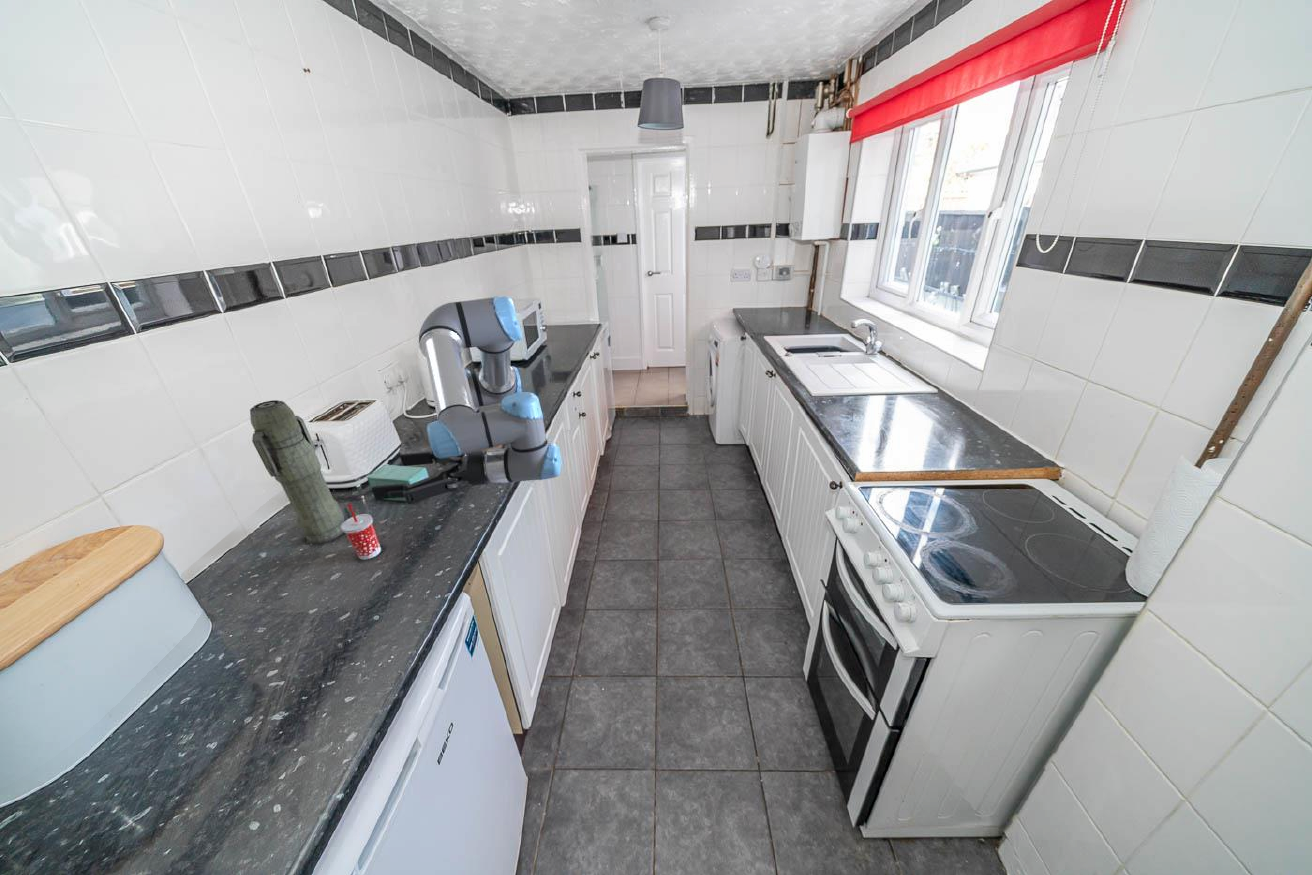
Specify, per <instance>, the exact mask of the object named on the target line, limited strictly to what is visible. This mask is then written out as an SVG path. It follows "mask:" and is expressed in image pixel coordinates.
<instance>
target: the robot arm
mask: <svg viewBox="0 0 1312 875" xmlns="http://www.w3.org/2000/svg"><path fill="white" fill-rule="evenodd" d="M515 308H516V307H515V305H514V301H513V299H512V298H511V297H509V296H493V297H485V298H478V299H470V300H462V301H461V300H460V301H452V302H447V303H444V304H442V305H440V306H438V307H436V308H435V309H433V311H431V312H430V313H429V314H428V315H427V317H426V318H425V320H424V321H423V323H422V324H421V327H420V329H419V333H418V346H419V349H420V352H421V354H422V355H423V357H425V358H426V362H427V369H428V374H429V379H430V385H431V391H432V397H433V401H434V407H435V412H436V420H435V421H432V422H429V423H428V424H427V425H426V433H427V437H428V441H429V445H430V448H431V451H424V452H413V453H411V452H410V453H401V454H400V455H399V458H400V460H401V463H402V466H408V467H411V466H422V465H432V464H433V463H434V464H435V465H436V464H440V465H442V466H444V467H443V468H442V469H439V470H437V472H436V474H433V475H431V476H429V477H428V478H425V479H423V480H420V481H418V482H415V483H413V484H410V485H408V486H407V485H406V484H405V483H404V484H395V485H384V486H373V487H372V488H371V487H370V489H372V490H371V492H372V495H373V494H374V495H373V498H374V497H375V498H374V499H375V500H383V499H388V498H403V497H405V499H406V501H405V502H406V504H407V505H411V504H413V503H417V502H420V501H424V500H426V499H427V500H428V499H430V498H433V497H436V496H439V495H443V494H445V493H451V492H456V491H459V490H460V487H459V483H462V482H467V483H469V485H471V486H482V485H483V486H484V485H489V484H502V483H504V484H507V483H514V482H515V483H517V482H528V481H529V482H530V481H543V480H548V479H554V478H558V477H559V476H560V474H561V472H562V454H561V450H560V447H559V445H557V444H556V443H549V442H548V439H547V435H546V428H545V423H544V422H545V421H544V413H543V411H542V408H541V403H540V400H539V399H540V398H539V397H538V396H537V395H536V394H534V393H532V392H527V391H523V390H522V380H521V376H520V373H519V370H518V369H517V367H516V366H513V365H512V366H511V349H512V348H513V346H514V344H515V342H518V341H521V340H522V339H523V333H522V329H521V326H520V323H519V318H518V315H517V312H516V309H515ZM471 348H477V349H478V350H479V351H478V352H479V356H480V362H481V363H480V364H479V366H478V371H475V372H471V371H470V369H468V368H466V367H465V365H464V361H463V356H462V353H463V350H464V349H471ZM499 403H500V404H501V406H500V407H499V408H496V409H490V410H485V411H480V407H485V406H489V405H490V406H491V405H494V404H495V405H496V404H499ZM509 444H510V447H502V448H501V449H489V450H488V452H487V451H486V450H484V449H488V448H492V447H497V446H501V445H502V446H505V445H509Z"/></svg>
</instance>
